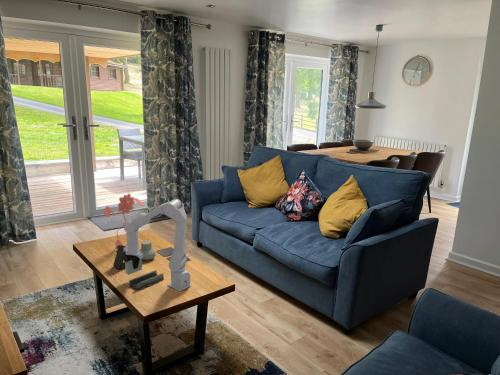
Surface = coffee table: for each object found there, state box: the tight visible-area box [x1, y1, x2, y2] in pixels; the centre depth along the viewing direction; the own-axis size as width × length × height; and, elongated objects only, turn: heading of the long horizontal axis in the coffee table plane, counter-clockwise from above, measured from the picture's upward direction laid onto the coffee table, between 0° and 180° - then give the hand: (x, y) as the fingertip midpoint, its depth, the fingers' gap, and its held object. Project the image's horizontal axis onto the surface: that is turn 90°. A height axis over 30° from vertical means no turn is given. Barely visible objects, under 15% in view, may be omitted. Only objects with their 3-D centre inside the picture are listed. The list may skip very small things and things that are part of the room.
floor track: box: [128, 269, 165, 291], centre depth 193 cm, size 7×16×3 cm, turn 141°
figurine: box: [103, 193, 145, 251], centre depth 231 cm, size 15×26×35 cm, turn 145°
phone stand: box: [112, 244, 128, 271], centre depth 210 cm, size 9×6×12 cm, turn 141°
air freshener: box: [139, 240, 157, 261], centre depth 221 cm, size 11×8×10 cm
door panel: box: [124, 259, 143, 275], centre depth 195 cm, size 2×8×6 cm, turn 140°
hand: (133, 267), depth 195 cm, fingers closed on door panel, 2 cm apart
